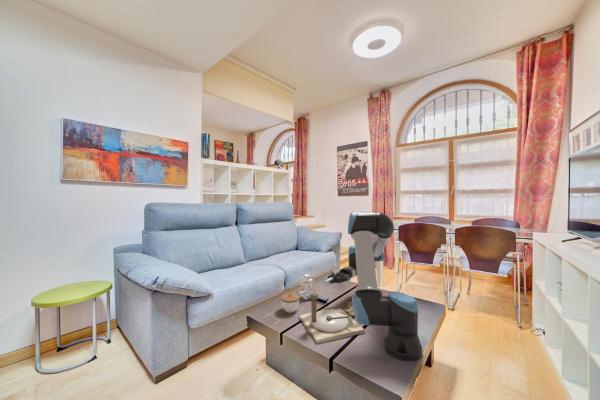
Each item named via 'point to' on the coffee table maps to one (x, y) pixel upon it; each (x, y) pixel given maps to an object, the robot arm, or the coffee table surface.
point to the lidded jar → (290, 302)
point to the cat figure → (350, 310)
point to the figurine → (306, 287)
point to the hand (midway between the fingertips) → (325, 283)
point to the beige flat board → (323, 336)
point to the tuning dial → (326, 318)
